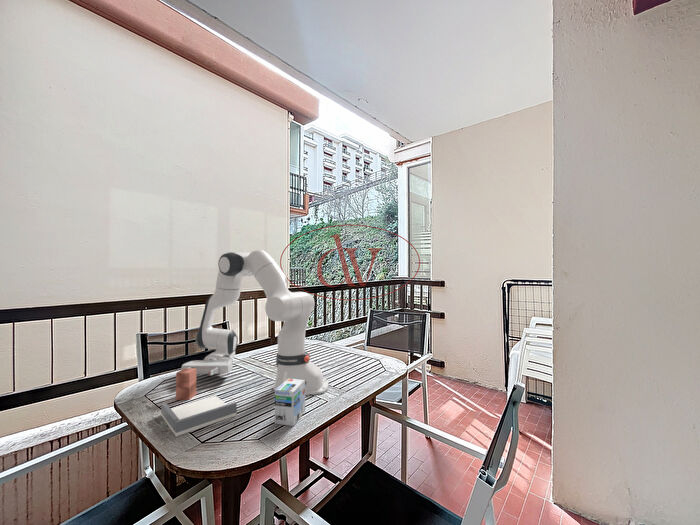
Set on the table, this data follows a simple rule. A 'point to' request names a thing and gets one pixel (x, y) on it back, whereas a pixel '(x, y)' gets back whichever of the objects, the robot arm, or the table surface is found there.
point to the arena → (197, 414)
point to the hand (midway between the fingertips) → (198, 373)
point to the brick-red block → (186, 384)
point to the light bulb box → (289, 402)
